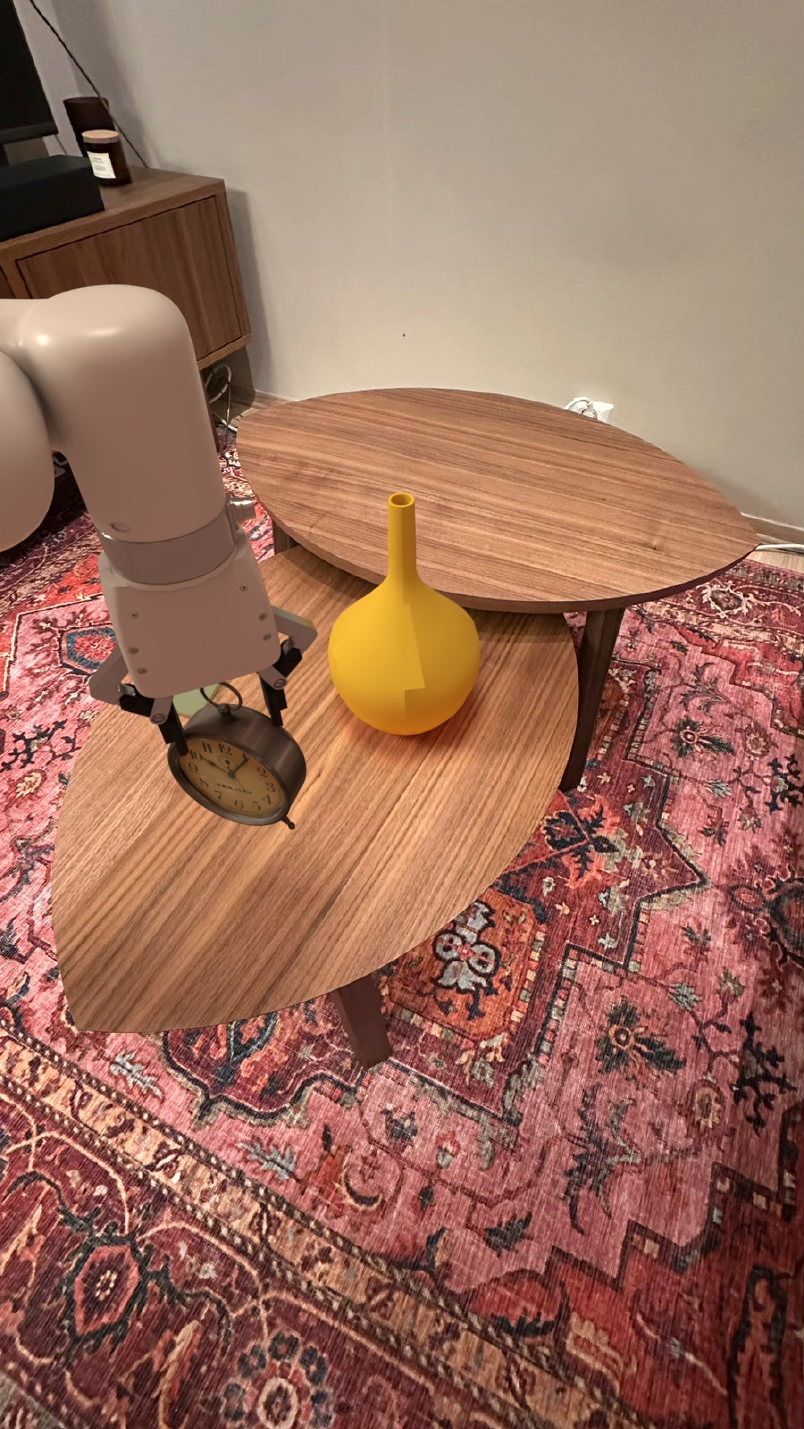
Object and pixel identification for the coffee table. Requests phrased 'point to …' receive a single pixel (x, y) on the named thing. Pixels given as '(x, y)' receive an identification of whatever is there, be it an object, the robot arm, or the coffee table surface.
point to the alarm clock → (239, 764)
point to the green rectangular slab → (193, 700)
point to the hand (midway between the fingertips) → (228, 727)
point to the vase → (404, 643)
